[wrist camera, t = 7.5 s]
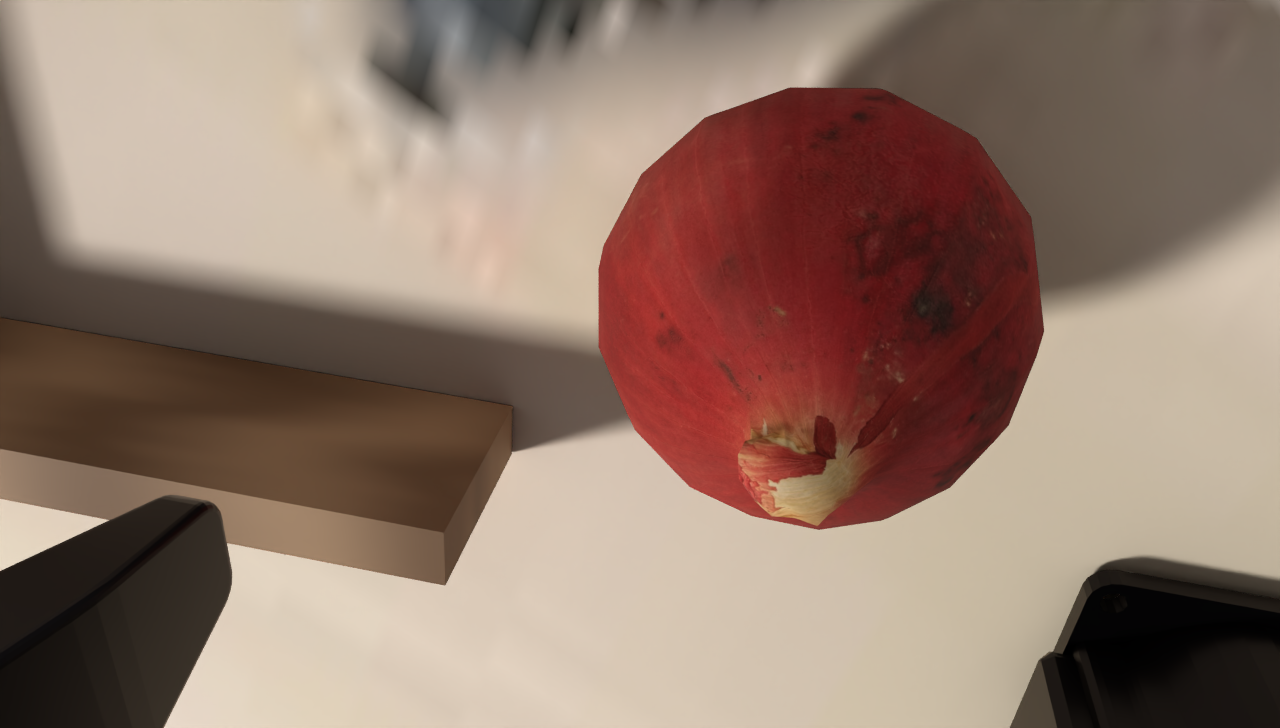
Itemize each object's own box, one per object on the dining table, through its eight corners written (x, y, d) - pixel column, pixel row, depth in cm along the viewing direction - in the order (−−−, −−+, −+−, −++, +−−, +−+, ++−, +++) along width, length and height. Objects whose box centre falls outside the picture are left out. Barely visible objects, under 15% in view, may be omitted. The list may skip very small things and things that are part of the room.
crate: (526, -244, 14) (423, -264, 10) (511, 453, 20) (445, 585, 17) (-338, -329, 15) (-676, -369, 12) (-97, 344, 22) (-272, 445, 18)
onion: (852, -47, 14) (904, 67, 7) (1057, 238, 16) (1257, 552, 9) (573, 188, 17) (414, 439, 10) (776, 414, 18) (763, 768, 11)
